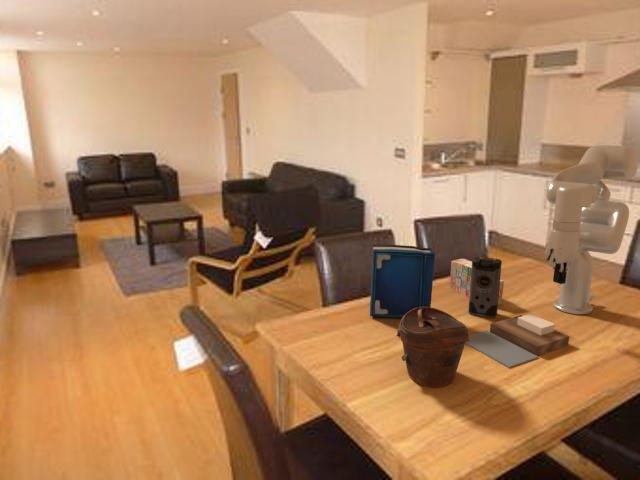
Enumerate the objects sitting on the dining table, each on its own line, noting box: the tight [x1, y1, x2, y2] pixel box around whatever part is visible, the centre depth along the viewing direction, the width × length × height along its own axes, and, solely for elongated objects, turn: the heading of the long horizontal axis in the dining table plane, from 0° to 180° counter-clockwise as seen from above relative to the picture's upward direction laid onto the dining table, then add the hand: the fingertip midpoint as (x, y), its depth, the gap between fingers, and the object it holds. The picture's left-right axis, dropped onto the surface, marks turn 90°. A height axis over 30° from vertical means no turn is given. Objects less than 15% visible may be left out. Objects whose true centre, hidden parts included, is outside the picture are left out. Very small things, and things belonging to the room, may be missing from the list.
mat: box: [465, 330, 539, 369], centre depth 148 cm, size 12×20×1 cm, turn 28°
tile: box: [517, 313, 556, 335], centre depth 155 cm, size 6×9×2 cm, turn 28°
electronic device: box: [468, 256, 502, 319], centre depth 171 cm, size 9×6×20 cm, turn 62°
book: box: [369, 244, 436, 319], centre depth 169 cm, size 22×7×25 cm, turn 84°
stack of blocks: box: [449, 258, 505, 306], centre depth 188 cm, size 21×6×12 cm, turn 28°
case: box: [396, 307, 470, 388], centre depth 132 cm, size 18×20×18 cm
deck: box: [489, 314, 570, 357], centre depth 154 cm, size 14×18×3 cm
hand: (558, 282), depth 155 cm, fingers closed
